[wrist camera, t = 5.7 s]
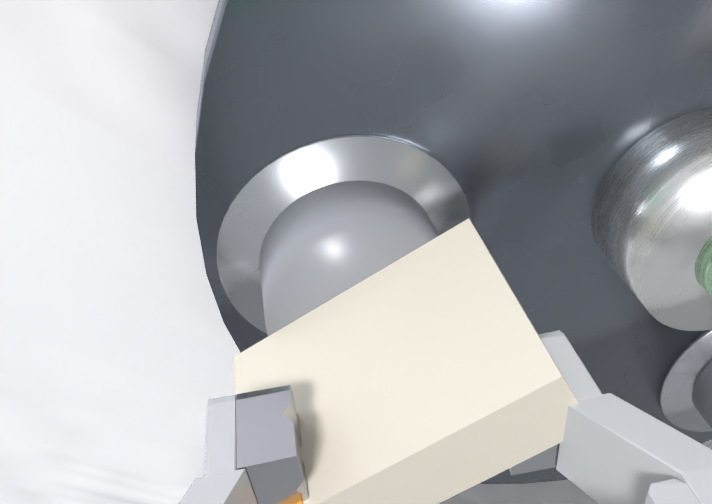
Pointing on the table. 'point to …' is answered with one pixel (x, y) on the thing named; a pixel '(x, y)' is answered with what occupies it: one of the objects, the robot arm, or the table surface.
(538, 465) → the robot arm
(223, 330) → the table surface
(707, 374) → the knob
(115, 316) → the table surface
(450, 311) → the cream block orange corner
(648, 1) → the tribrach disc
